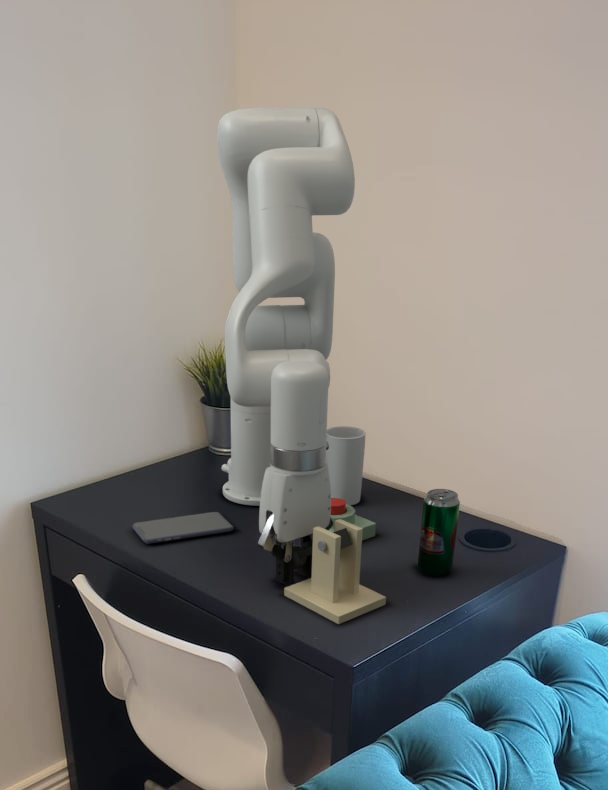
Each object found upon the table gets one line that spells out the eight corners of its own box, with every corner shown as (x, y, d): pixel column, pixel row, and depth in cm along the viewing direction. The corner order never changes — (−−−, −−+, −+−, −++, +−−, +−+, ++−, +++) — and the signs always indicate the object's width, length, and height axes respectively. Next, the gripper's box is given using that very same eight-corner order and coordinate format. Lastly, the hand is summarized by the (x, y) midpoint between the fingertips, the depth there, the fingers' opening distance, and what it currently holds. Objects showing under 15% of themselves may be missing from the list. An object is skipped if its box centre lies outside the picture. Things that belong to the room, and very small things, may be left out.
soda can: (410, 570, 143) (417, 493, 137) (430, 560, 146) (438, 484, 140) (438, 581, 140) (446, 503, 134) (458, 570, 143) (467, 493, 137)
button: (317, 511, 153) (318, 501, 153) (334, 506, 155) (334, 496, 155) (333, 518, 151) (334, 507, 150) (350, 512, 153) (350, 502, 152)
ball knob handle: (283, 573, 139) (275, 551, 139) (300, 567, 141) (292, 545, 141) (338, 553, 128) (330, 529, 128) (357, 546, 130) (348, 522, 130)
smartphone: (235, 527, 155) (144, 540, 150) (235, 532, 155) (145, 546, 150) (218, 510, 161) (131, 522, 156) (218, 516, 161) (131, 528, 156)
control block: (291, 530, 156) (291, 507, 154) (331, 517, 161) (332, 494, 159) (334, 550, 149) (335, 526, 147) (375, 535, 154) (376, 512, 152)
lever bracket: (283, 595, 136) (285, 524, 131) (330, 577, 141) (333, 508, 136) (338, 624, 129) (342, 550, 123) (385, 604, 134) (391, 532, 128)
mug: (367, 505, 166) (371, 436, 160) (329, 508, 164) (332, 439, 158) (348, 485, 174) (351, 419, 168) (312, 488, 173) (314, 422, 167)
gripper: (322, 438, 139) (318, 556, 147) (233, 462, 129) (234, 586, 138) (360, 450, 134) (354, 572, 142) (270, 476, 124) (269, 604, 133)
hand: (295, 578), depth 140 cm, fingers closed on ball knob handle, 3 cm apart
